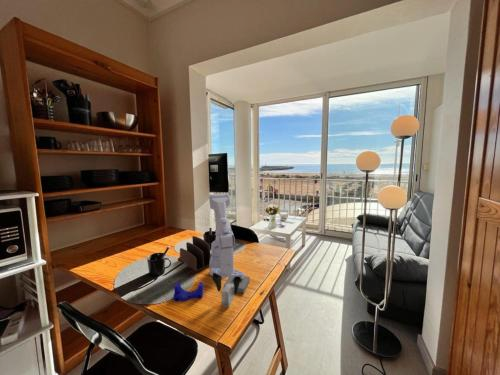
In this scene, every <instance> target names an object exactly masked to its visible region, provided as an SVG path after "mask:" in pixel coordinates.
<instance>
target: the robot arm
mask: <svg viewBox="0 0 500 375" xmlns="http://www.w3.org/2000/svg"><path fill="white" fill-rule="evenodd" d="M208 200H209V201H208V202H209V208H210V210H213V211H214V219H215V220H214V221H215V222H214V224H215V240H213V241H212V242H211V244H210V245H211V246H210V254H211V258H210V262H209V265H210V266H209V274H208V275H209V276H212V277H211V280H212V281H213V282H214V284H215V287H216V290H217V292H220V291H222V290H221V289H222V279H227V278H229V277H235V279H234V281H233V282H234V295H237V294H238V293H237V292H238V287H239V283H240V281H241V279H243V278H244V276H245V272H244V271H240V270H237V269H235V266H234V265H235V262H234V247H235V242H236V241H235V240H236V239H235V236H234V235H235V234H234V233H233V230H232V226H231V222H230V220H229V218H227V208H228V207H229V206H230V204H231V201H230V200H231V199H230V194H229V193H227V192H226V193H213V194H212V193H210V194H209V195H208Z"/></svg>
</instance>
